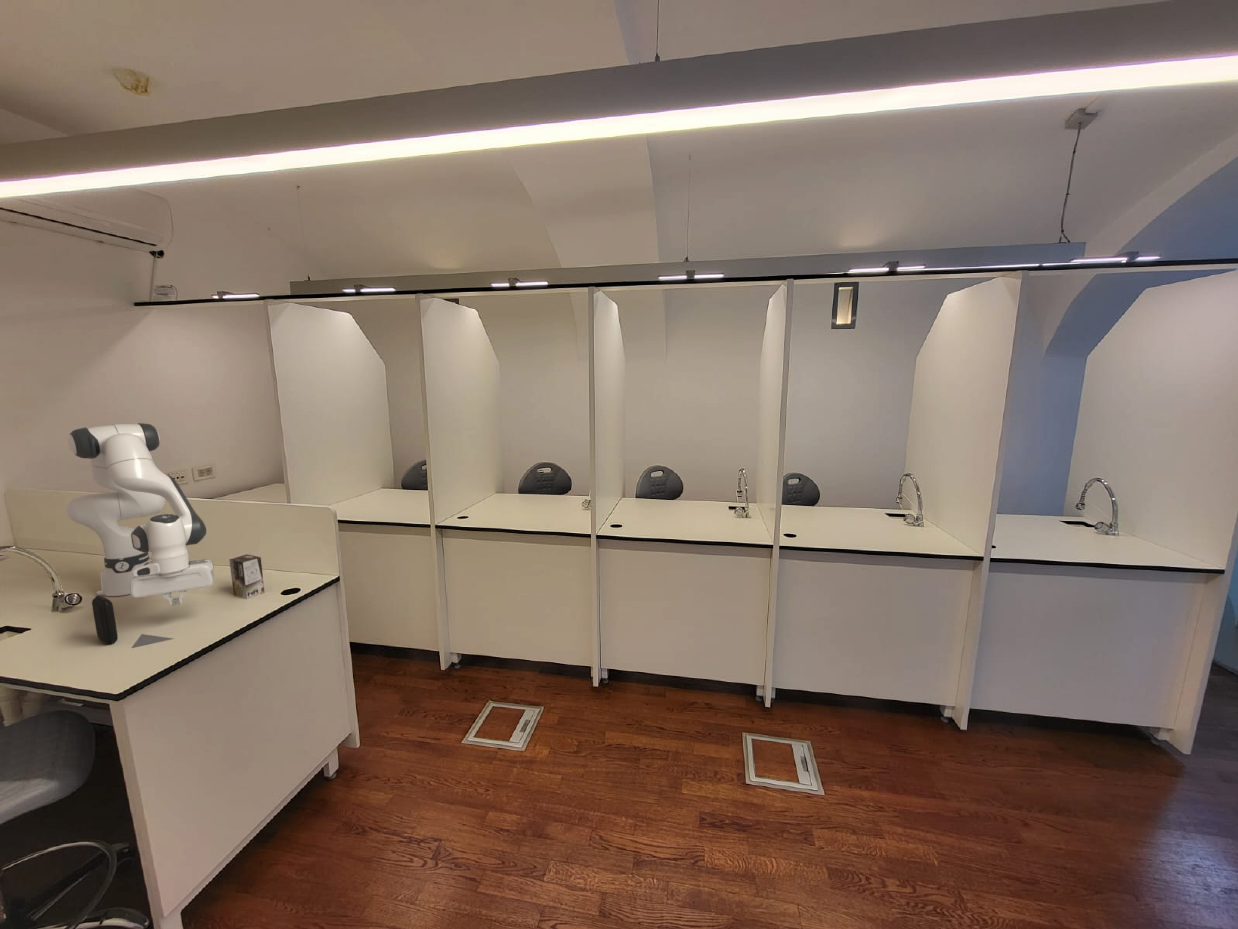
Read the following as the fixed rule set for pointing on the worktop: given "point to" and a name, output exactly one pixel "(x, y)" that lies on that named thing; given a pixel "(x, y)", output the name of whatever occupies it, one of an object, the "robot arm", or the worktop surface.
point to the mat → (149, 640)
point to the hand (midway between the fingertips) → (176, 604)
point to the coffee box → (247, 576)
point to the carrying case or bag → (104, 620)
